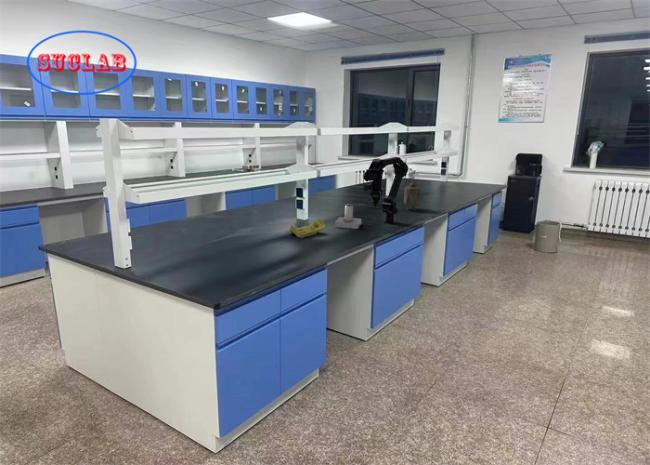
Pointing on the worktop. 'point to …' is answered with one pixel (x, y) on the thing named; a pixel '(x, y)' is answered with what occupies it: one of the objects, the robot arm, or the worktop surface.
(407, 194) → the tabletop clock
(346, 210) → the plug
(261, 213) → the worktop surface
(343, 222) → the socket box
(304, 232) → the plastic component
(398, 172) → the robot arm
